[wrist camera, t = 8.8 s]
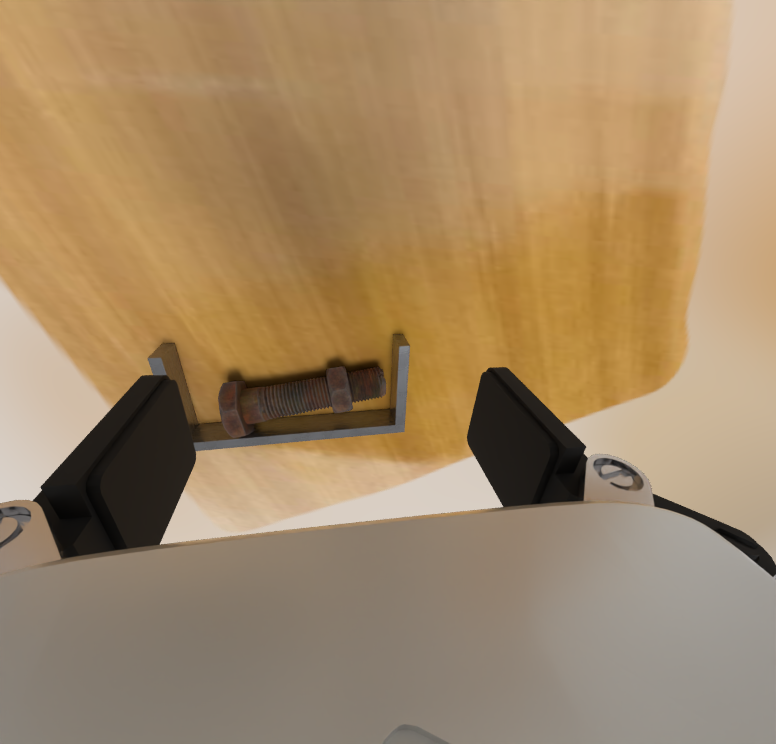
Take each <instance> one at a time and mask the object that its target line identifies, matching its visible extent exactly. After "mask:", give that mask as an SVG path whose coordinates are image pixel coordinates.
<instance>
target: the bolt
mask: <svg viewBox="0 0 776 744" xmlns="http://www.w3.org/2000/svg"><path fill="white" fill-rule="evenodd" d="M326 375H327V377H325V376H324V377H323V378H322V377H320V378H318V377H317V378H316V379H315V378H313V380H312V379H311V378H310V380H308V379H306V381H305V380H303V381H301V380H300V381H299V382H298V381H296V382H293V381H292V384H291V383H290V382H289V383H288V384H287V383H285V385H284V384H283V383H282V384H281V385H280V384H278V386H277V385H274V386H273V385H271V386H267V387H254V388H248V389H247V387H246V384H245V381H233V382H228V383H223V384H222V386H221V389H220V392H219V397H218V400H219V409H220V415H221V419H222V423H223V426H224V428H225V430H226V431H227V432H228V434H229V435H230V436H231V437H233V438H236V437H241V436H246V435H248V434H250V433H251V432H253V431H254V423H259V422H265V421H267V420H269V419H273V418H277V417H281V416H282V417H284V415H285V416H288V415H289V416H290V415H291V414H292V415H295V414H298V413H300V414H301V413H302V412H303V413H305V411H306V412H308V411H312V409H313V410H314V411H315V409H317V410H318V409H319V408H320V409H322V408H324V409H325V408H326V407H327V408H329V406H330V407H332V408H333V411H334V413H341V412H346V411H350V410H352V409H353V406H352V402H353V401H354V402H355V403H356V401H358V402H359V400H361V401H362V400H365V401H366V399H368V400H369V398H370V399H372V398H376V397H377V398H379V396H380V397H382V396H384V395H385V394H386V381H385V379H384V377H383V370H382V369H380V368H379V367H378V366H377V367H376V368H375V367H373V368H370V369H369V368H367V370H366V369H364V370H362V369H361V370H360V371H359V370H357V372H356V371H355V370H354V372H352V371H351V372H350V373H349V372H347V373H346V368H345V367H344V366H341V367H335V368H330V369H327V370H326Z"/></svg>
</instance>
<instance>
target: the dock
mask: <svg viewBox="0 0 776 744" xmlns="http://www.w3.org/2000/svg"><path fill="white" fill-rule="evenodd" d="M409 351H410V345H409V344H408V342H407V340H406V338H405V337H404V335H403V334H393V349H392V374H391V400H390V409H383V410H371V411H358V412H345V413H333V414H320V415H308V416H295V417H282V418H273V419H269V420H267V421H265V422H259V423H254V431H253V432H251V433H250V434H248V435H246V436H241V437H236V438H233V437H231V436H230V435H229V434H228V432H227V431H226V430H225V428H224V426H223V423H222V422H219V423H207V424H198V422H197V418H196V415H195V411H194V408H193V404H192V401H191V398H190V394H189V391H188V387H187V384H186V381H185V377H184V374H183V370H182V367H181V364H180V360H179V357H178V353H177V350H176V346H175V343H167V344H161V345H160V346H159V347H158V348H157V349H156V350H155V351H154V352H153V353H152V354H151V355H150V356H149V357H148V361H149V364H150V367H151V370H152V373H153V375H167V376H168V377H169V378H170V380H175V381H176V382H177V384H178V388H179V392H180V395H181V399H182V403H183V406H184V410H185V414H186V418H187V421H188V425H189V429H190V432H191V436H192V440H193V444H194V447H195V451H201V450H212V449H223V448H234V447H245V446H256V445H266V444H277V443H288V442H299V441H310V440H321V439H332V438H343V437H353V436H364V435H375V434H386V433H397V432H404V428H405V412H406V397H407V382H408V366H409Z"/></svg>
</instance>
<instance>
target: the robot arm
mask: <svg viewBox="0 0 776 744" xmlns="http://www.w3.org/2000/svg"><path fill="white" fill-rule="evenodd" d="M467 441H468V445H469V447H470V448H471V450H472V452H473V454H474V456H475V457H476V459H477V461H478V463H479V464H480V466H481V468H482V470H483V471H484V473H485V475H486V477H487V478H488V480H489V482H490V484H491V486H492V487H493V489H494V491H495V493H496V495H497V496H498V498H499V499H500V502H501V503H502V505H503V507H501V508H492V509H481V510H472V511H461V512H452V513H441V514H432V515H422V516H413V517H403V518H394V519H384V520H376V521H366V522H356V523H348V524H338V525H328V526H319V527H310V528H301V529H292V530H283V531H274V532H266V533H256V534H247V535H238V536H230V537H221V538H212V539H203V540H195V541H186V542H178V543H170V544H161V545H159V544H160V542H161V540H162V538H163V535H164V533H165V531H166V528H167V526H168V524H169V521H170V519H171V517H172V515H173V512H174V510H175V508H176V506H177V503H178V501H179V499H180V496H181V494H182V492H183V490H184V487H185V485H186V483H187V481H188V478H189V476H190V474H191V471H192V469H193V467H194V464H195V461H196V451H195V447H194V444H193V440H192V436H191V432H190V429H189V425H188V421H187V418H186V414H185V410H184V406H183V403H182V399H181V395H180V392H179V388H178V384H177V382H176V381H175V380H170V378H169V377H168V376H167V375H144V376H141V377H140V378H139V379H138V380H137V381H136V382H135V384H134V385H133V386H132V387H131V388H130V389H129V390H128V391H127V392H126V393H125V395H124V396H123V397H122V398H121V399H120V400H119V401H118V402H117V403H116V404H115V406H114V407H113V408H112V409H111V410H110V411H109V412H108V413H107V414H106V415H105V417H104V418H103V419H102V420H101V421H100V422H99V423H98V424H97V425H96V426H95V428H94V429H93V430H92V431H91V432H90V433H89V434H88V435H87V436H86V437H85V439H84V440H83V441H82V442H81V443H80V444H79V445H78V446H77V447H76V448H75V450H74V451H73V452H72V453H71V454H70V455H69V456H68V457H67V458H66V460H65V461H64V462H63V463H62V464H61V465H60V466H59V467H58V469H56V470H55V472H54V473H53V474H52V475H51V476H50V477H49V478H48V479H47V480H46V481H45V483H44V484H43V485H42V486H41V489H42V491H41V492H40V493H39V494H38V496H37V497H36V498H35V499H34V500H33V501H30V500H14V501H9V502H5V503H0V744H776V565H775V563H774V561H773V560H772V557H771V556H770V555H769V554H768V553H767V552H766V551H765V550H764V548H762V547H761V546H760V545H759V544H757V543H756V541H755V540H754V539H752V538H751V537H750V536H749V535H747V534H746V533H744V532H742V531H740V530H738V529H736V528H733V527H731V526H729V525H726V524H724V523H722V522H719V521H717V520H714V519H712V518H710V517H707V516H705V515H703V514H700V513H698V512H695V511H693V510H691V509H688V508H686V507H683V506H681V505H679V504H676V503H674V502H672V501H669V500H667V499H664V498H662V497H660V496H657V495H655V494H652V488H651V485H650V482H649V479H648V478H647V477H646V476H645V475H644V473H643V472H641V471H640V470H639V469H638V468H637V467H635V466H634V465H632V464H630V463H629V462H627V461H625V460H622V459H620V458H618V457H615V456H611V455H606V454H595V455H592V456H590V457H589V458H587V457H586V456H585V455H584V450H585V448H586V446H585V445H584V444H583V443H582V442H581V441H580V440H579V439H578V438H577V437H576V436H575V435H574V434H573V433H572V432H571V431H570V430H569V429H568V428H567V427H566V426H565V425H564V424H563V423H562V422H561V421H560V420H559V419H558V418H557V417H556V416H555V415H554V414H553V413H552V412H551V411H550V410H549V409H548V408H547V407H546V406H545V405H544V404H543V403H542V402H541V401H540V400H539V399H538V398H537V397H536V396H535V395H534V394H533V393H532V392H531V391H530V390H529V389H528V388H527V387H526V386H525V385H524V384H523V383H522V382H521V381H520V380H519V379H518V378H517V377H516V376H515V375H514V374H513V373H512V372H511V371H510V370H509V369H508V368H506V367H499V368H488V369H487V371H486V372H484V373H483V374H482V376H481V379H480V383H479V388H478V392H477V396H476V400H475V405H474V409H473V413H472V417H471V421H470V426H469V430H468V434H467Z"/></svg>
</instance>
